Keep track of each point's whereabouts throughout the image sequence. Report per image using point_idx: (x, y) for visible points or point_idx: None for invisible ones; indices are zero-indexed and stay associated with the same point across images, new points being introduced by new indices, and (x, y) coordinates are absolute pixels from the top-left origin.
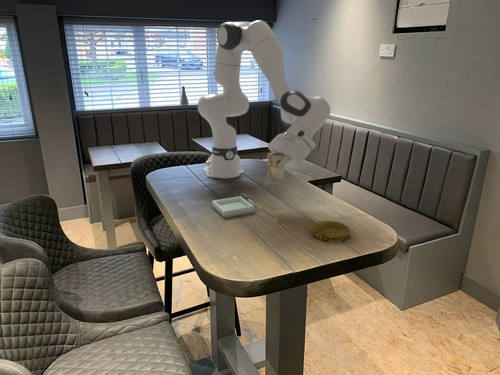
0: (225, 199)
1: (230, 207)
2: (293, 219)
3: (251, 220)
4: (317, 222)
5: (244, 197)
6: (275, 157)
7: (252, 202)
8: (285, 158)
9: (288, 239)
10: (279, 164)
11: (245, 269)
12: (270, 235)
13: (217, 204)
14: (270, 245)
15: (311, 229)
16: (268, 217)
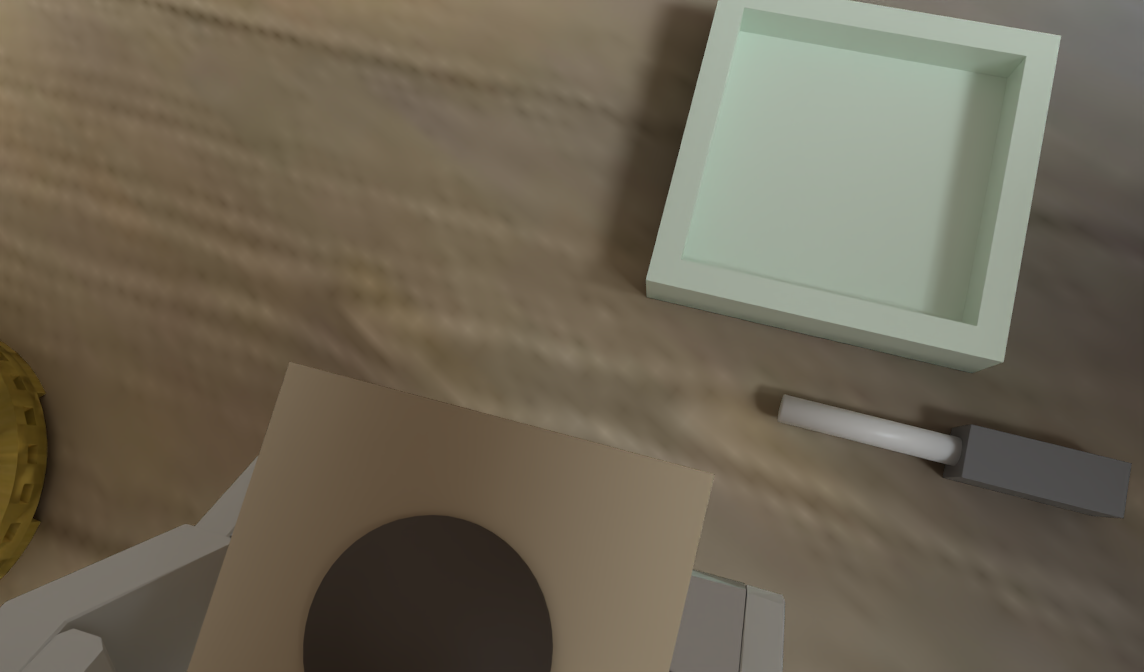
0: (1010, 165)
1: (849, 151)
2: None
3: (524, 166)
4: (10, 486)
5: (1008, 435)
6: (287, 443)
7: (821, 407)
8: (3, 614)
9: (95, 163)
10: (244, 477)
11: None
12: (225, 108)
13: (925, 24)
14: (130, 15)
15: (9, 368)
16: (472, 321)
